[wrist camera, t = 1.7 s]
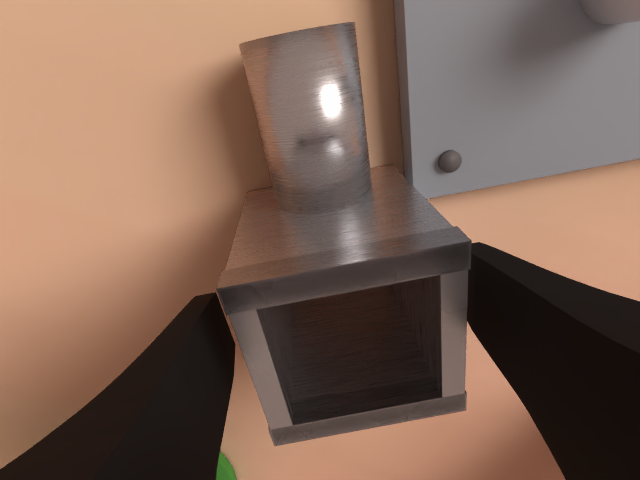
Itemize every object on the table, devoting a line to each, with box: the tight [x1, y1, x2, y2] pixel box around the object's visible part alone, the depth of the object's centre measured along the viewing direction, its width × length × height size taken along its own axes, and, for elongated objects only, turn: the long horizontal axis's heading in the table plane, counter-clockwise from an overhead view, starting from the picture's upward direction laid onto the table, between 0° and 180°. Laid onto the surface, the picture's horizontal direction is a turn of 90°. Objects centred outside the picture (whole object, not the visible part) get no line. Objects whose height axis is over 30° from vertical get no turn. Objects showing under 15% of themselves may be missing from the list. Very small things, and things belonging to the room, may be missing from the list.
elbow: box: [216, 22, 471, 446], centre depth 10 cm, size 10×5×6 cm, turn 10°
